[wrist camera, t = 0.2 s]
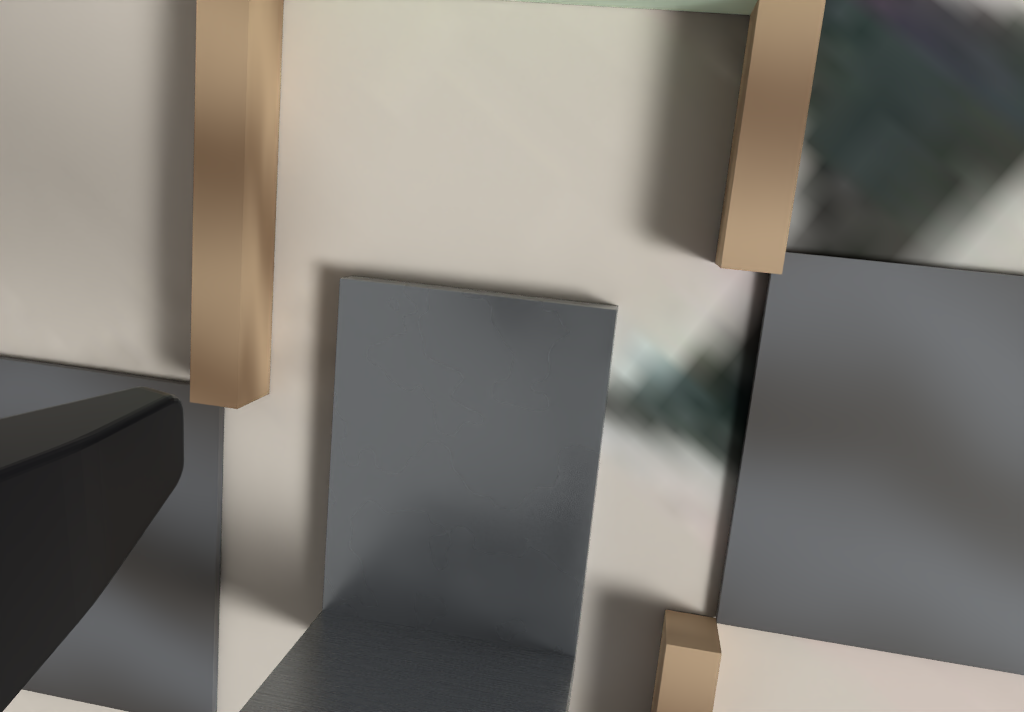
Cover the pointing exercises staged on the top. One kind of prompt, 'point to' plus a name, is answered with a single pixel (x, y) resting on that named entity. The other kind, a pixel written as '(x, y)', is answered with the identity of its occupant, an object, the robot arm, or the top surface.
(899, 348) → the trap lane
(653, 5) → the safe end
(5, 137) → the top surface
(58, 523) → the robot arm
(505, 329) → the bookend
